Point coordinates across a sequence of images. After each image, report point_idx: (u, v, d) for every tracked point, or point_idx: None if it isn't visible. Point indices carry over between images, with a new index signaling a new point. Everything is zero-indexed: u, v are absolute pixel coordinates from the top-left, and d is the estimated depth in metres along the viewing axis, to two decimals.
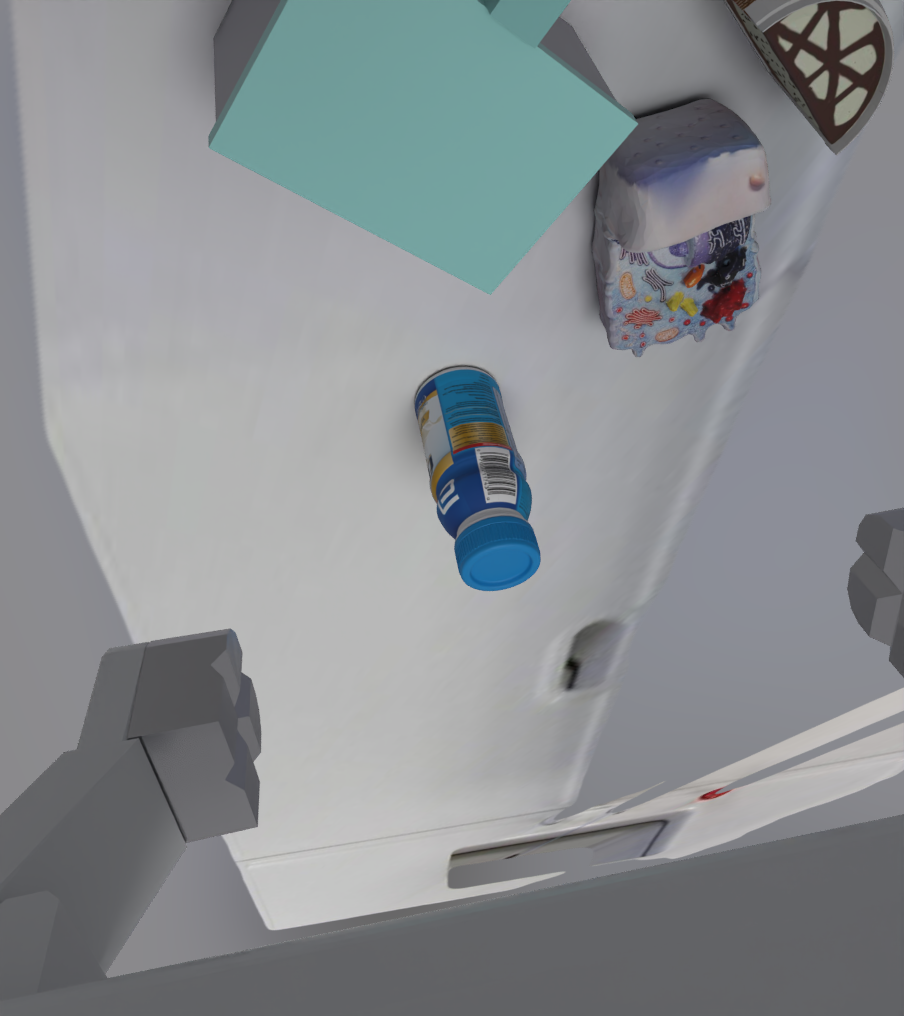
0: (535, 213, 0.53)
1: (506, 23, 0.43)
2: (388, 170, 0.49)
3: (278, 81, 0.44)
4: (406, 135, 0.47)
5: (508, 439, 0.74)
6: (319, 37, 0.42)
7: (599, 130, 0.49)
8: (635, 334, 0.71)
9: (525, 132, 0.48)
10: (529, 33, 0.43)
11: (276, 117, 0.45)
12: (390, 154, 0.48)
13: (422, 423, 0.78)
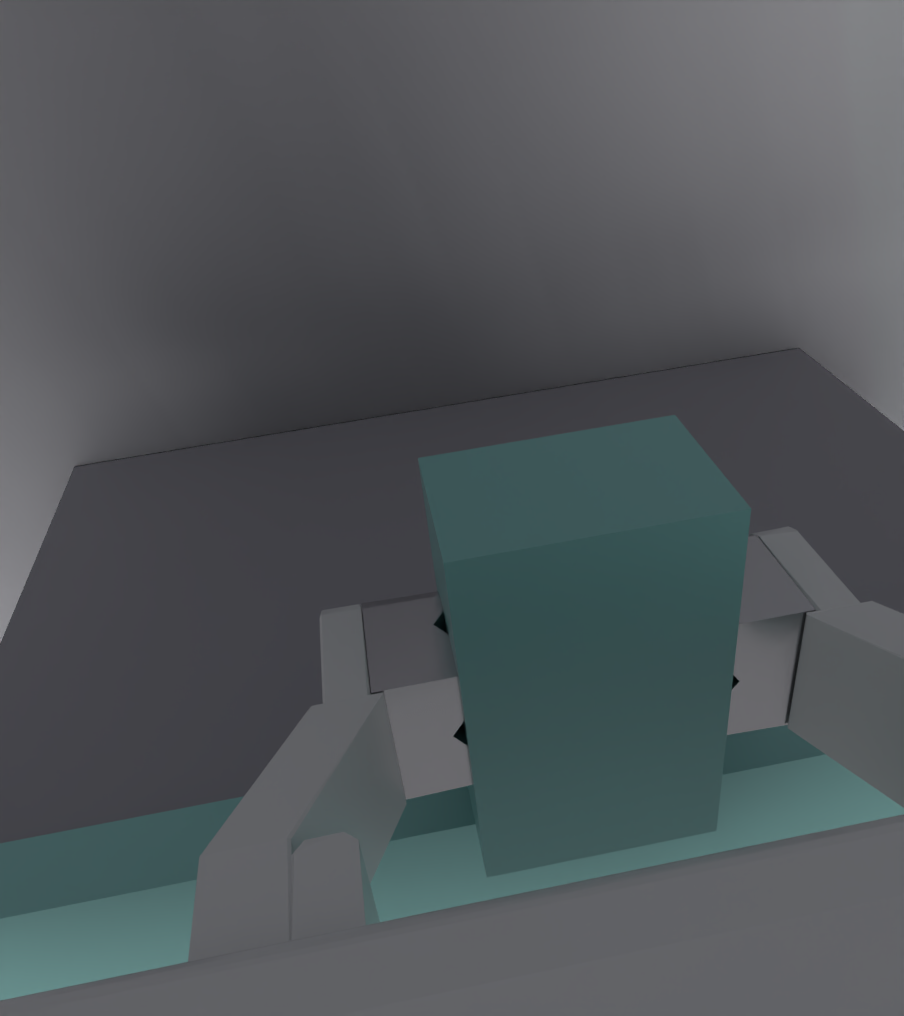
0: None
1: (560, 856, 0.11)
2: None
3: None
4: None
5: None
6: None
7: None
8: None
9: None
10: (661, 821, 0.11)
11: None
12: None
13: None
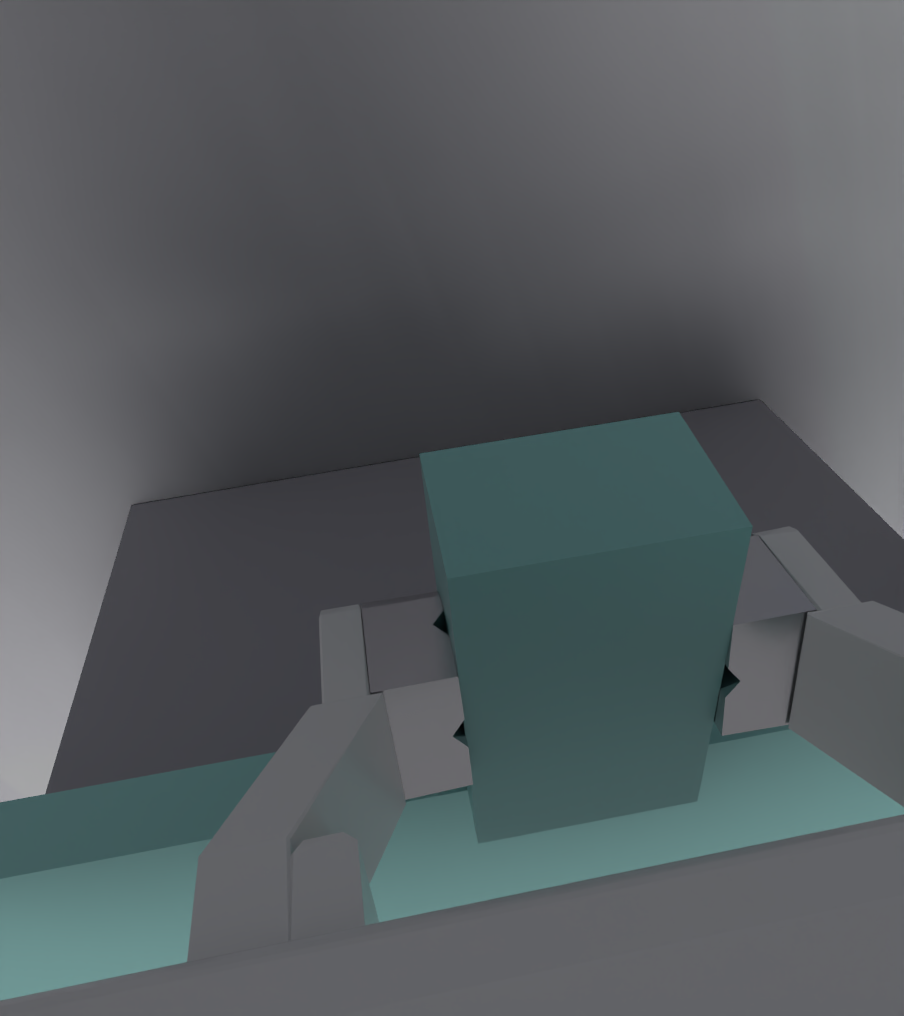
0: None
1: (548, 825, 0.11)
2: None
3: None
4: None
5: None
6: None
7: None
8: None
9: None
10: (646, 794, 0.11)
11: None
12: None
13: None
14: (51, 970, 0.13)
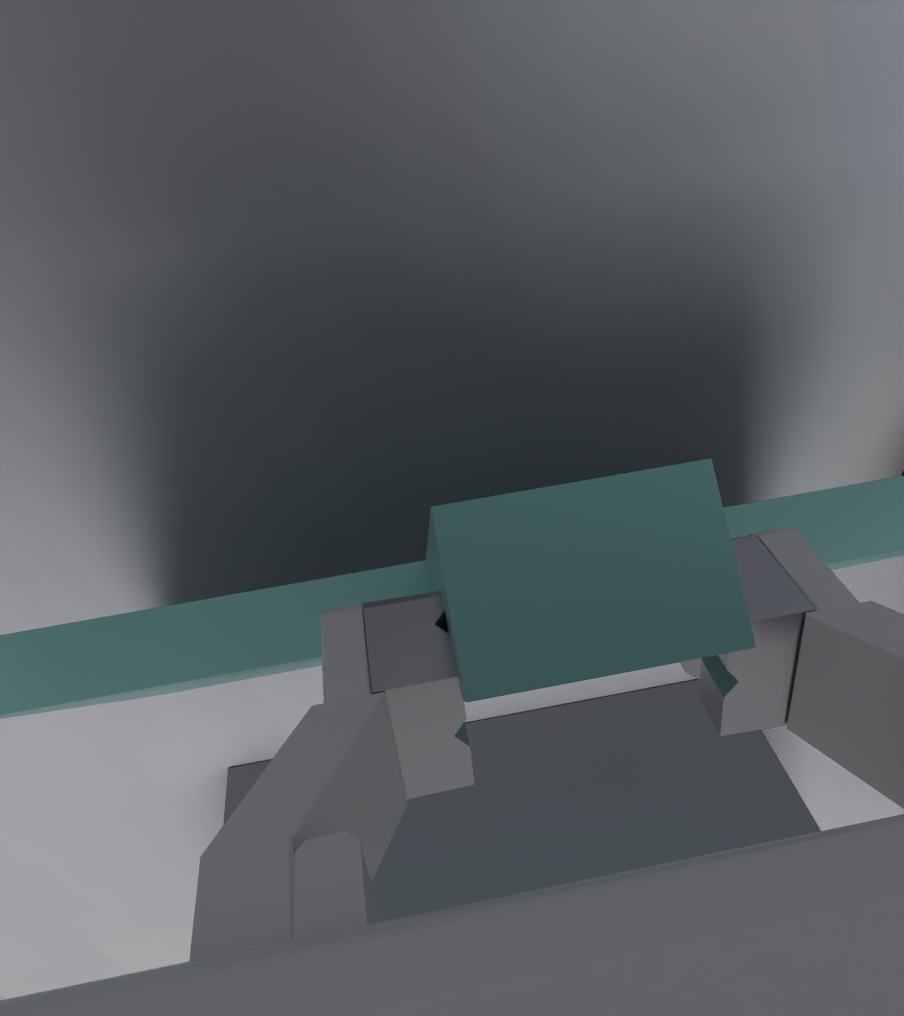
0: None
1: None
2: None
3: None
4: None
5: None
6: None
7: None
8: None
9: None
10: None
11: None
12: None
13: None
14: (74, 704, 0.16)
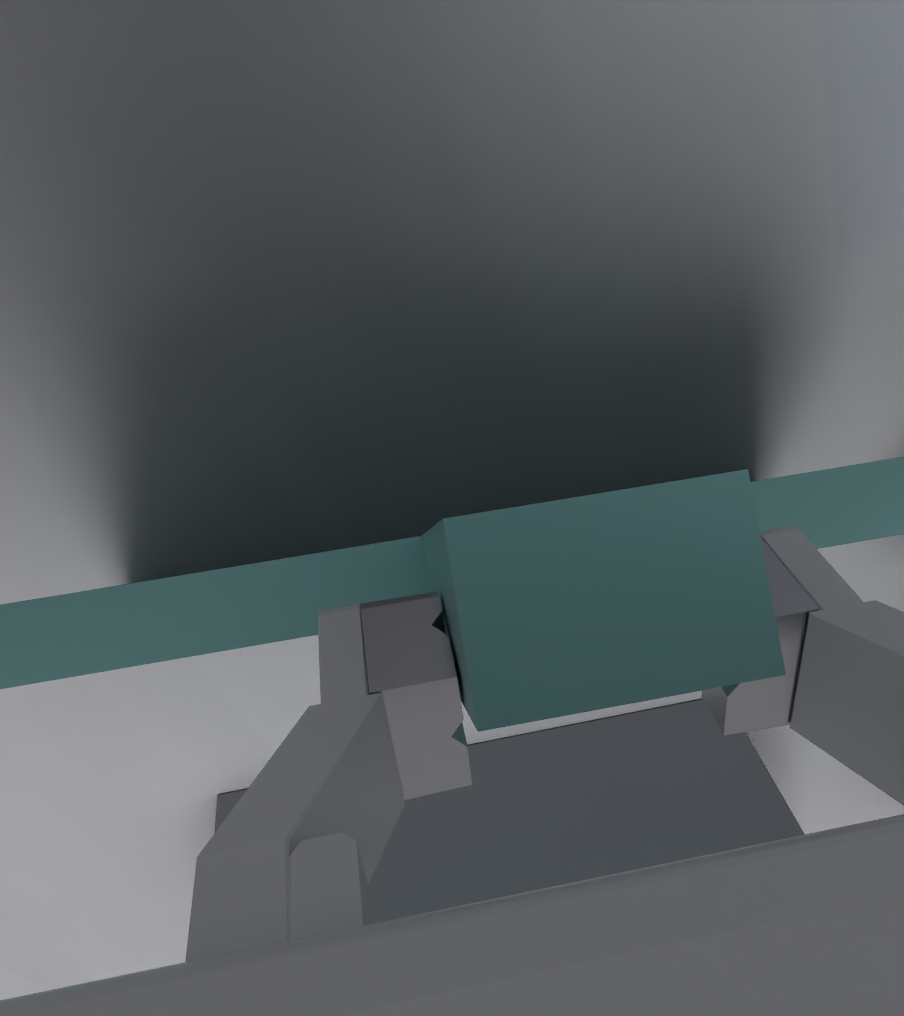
0: None
1: None
2: None
3: None
4: None
5: None
6: None
7: None
8: None
9: None
10: None
11: None
12: None
13: None
14: None
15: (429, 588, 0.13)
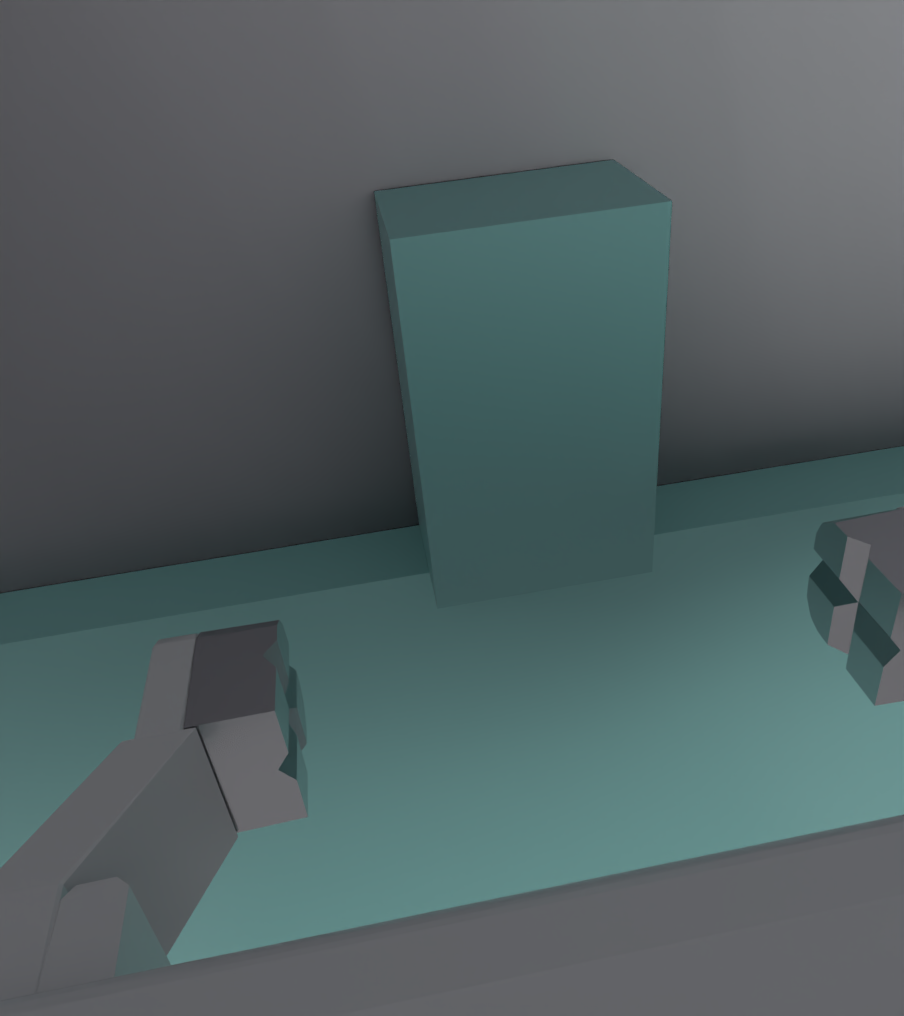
0: None
1: (505, 589, 0.12)
2: None
3: None
4: (487, 874, 0.17)
5: None
6: None
7: None
8: None
9: (792, 689, 0.15)
10: (600, 556, 0.12)
11: None
12: None
13: None
14: (18, 787, 0.13)
15: (424, 552, 0.13)
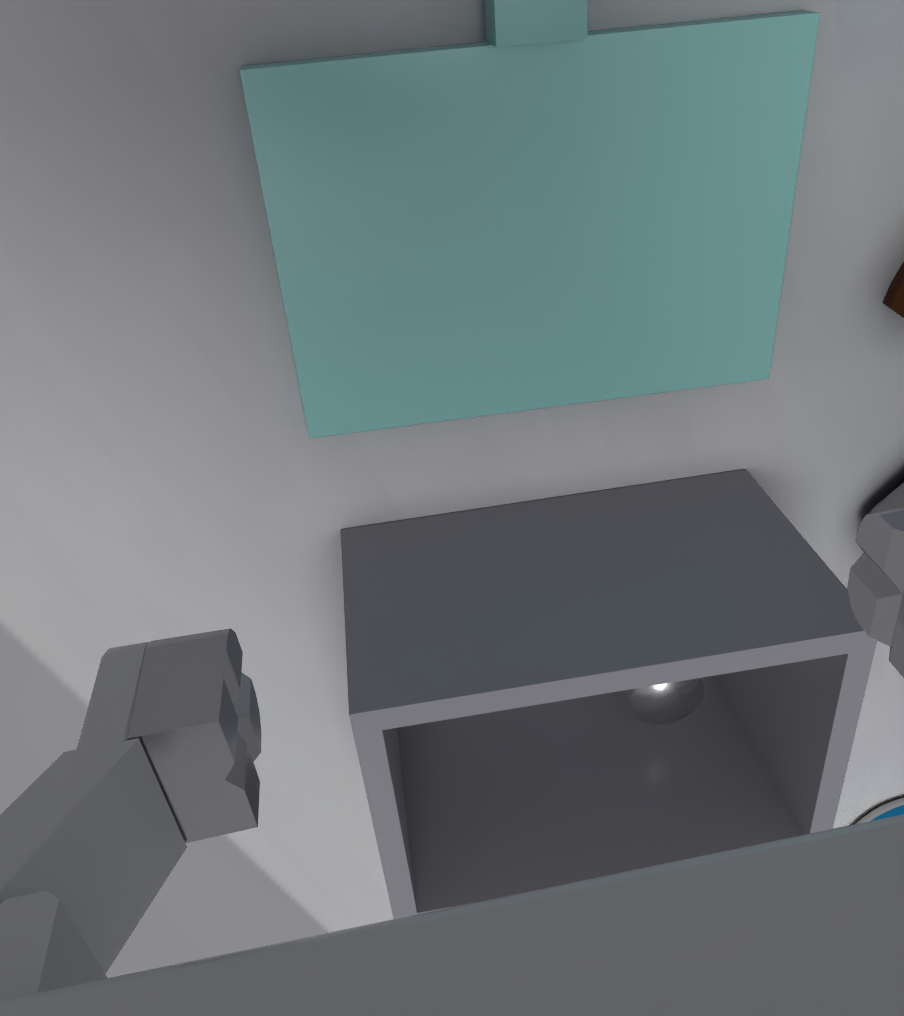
0: (754, 237, 0.33)
1: (525, 39, 0.28)
2: (520, 322, 0.34)
3: (324, 317, 0.33)
4: (510, 268, 0.33)
5: None
6: (330, 238, 0.31)
7: (765, 66, 0.30)
8: None
9: (660, 149, 0.31)
10: (564, 26, 0.28)
11: (351, 357, 0.34)
12: (507, 302, 0.33)
13: None
14: (302, 158, 0.30)
15: (489, 41, 0.29)
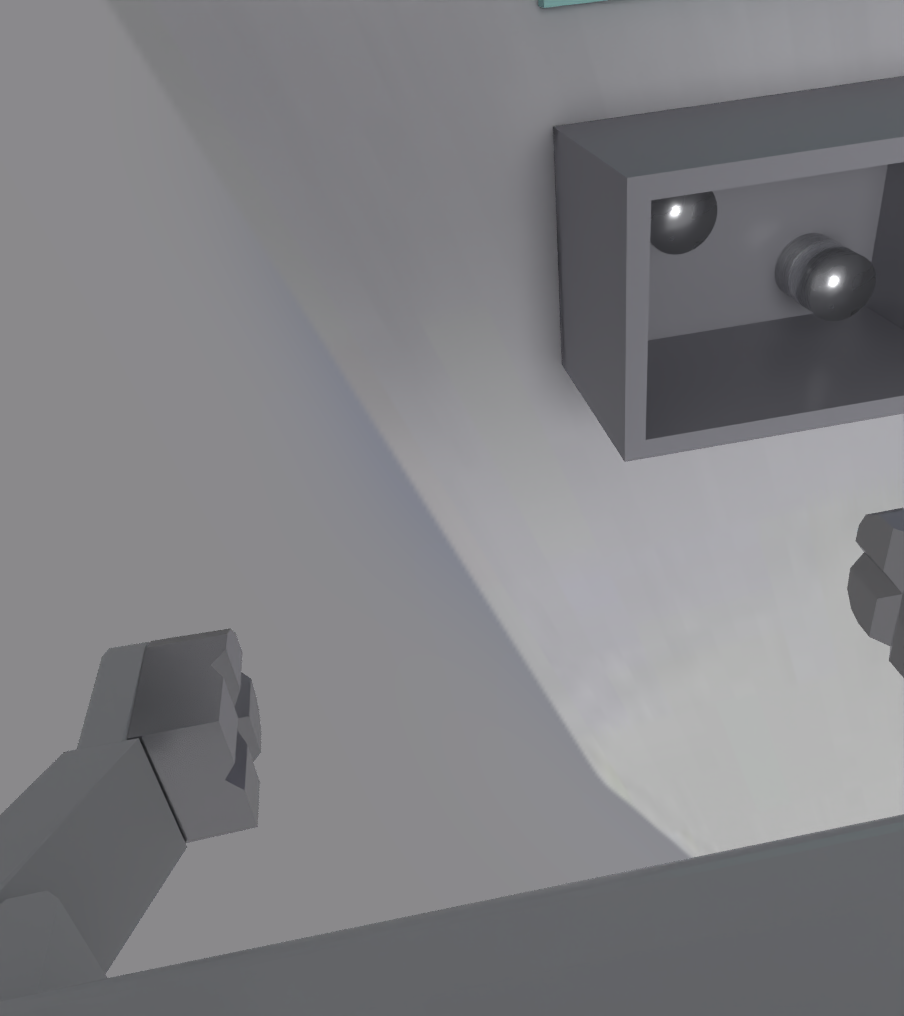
0: None
1: None
2: None
3: None
4: None
5: None
6: None
7: None
8: None
9: None
10: None
11: None
12: None
13: None
14: None
15: None
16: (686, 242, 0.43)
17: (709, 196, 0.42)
